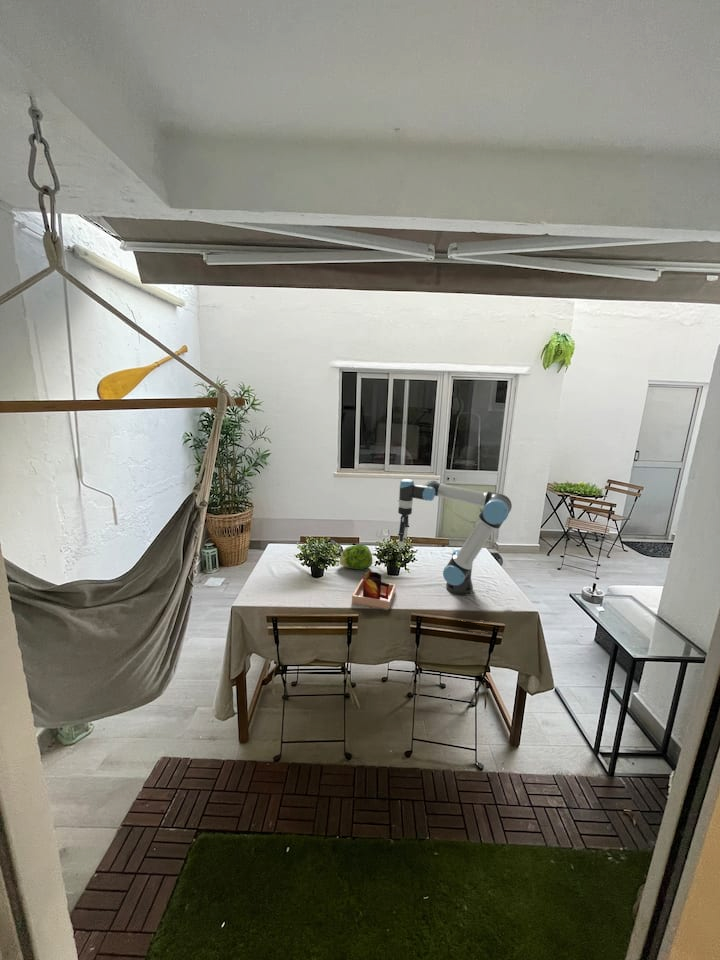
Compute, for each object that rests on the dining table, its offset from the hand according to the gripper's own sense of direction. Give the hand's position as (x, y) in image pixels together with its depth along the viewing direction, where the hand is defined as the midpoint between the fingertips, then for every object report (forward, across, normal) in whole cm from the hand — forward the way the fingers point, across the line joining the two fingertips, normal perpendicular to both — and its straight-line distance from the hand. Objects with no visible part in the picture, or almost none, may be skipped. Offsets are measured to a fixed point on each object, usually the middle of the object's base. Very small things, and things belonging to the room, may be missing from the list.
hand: (402, 542), depth 234 cm
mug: (+26, +20, -10) cm, 34 cm away
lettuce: (+27, -13, -31) cm, 43 cm away
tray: (+27, +20, -11) cm, 35 cm away
